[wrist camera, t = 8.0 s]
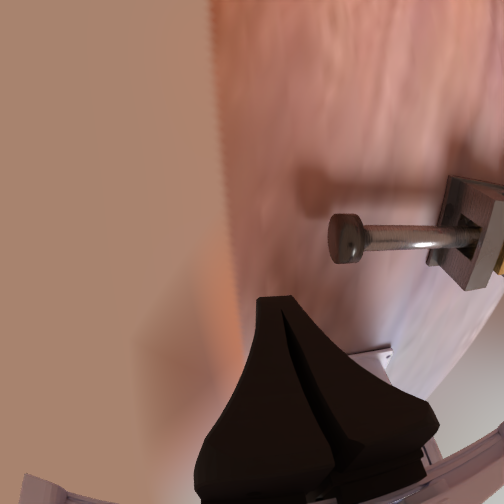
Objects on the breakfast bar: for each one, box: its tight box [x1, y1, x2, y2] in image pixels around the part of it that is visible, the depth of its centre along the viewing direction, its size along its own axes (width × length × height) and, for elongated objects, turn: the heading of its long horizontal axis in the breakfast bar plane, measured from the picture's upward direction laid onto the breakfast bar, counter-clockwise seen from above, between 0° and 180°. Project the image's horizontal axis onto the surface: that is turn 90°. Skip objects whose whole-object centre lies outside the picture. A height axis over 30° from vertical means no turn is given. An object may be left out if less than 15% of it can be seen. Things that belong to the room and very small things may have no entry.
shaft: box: [328, 214, 482, 264], centre depth 18 cm, size 14×3×3 cm, turn 89°
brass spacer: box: [478, 226, 504, 275], centre depth 19 cm, size 3×5×5 cm, turn 179°
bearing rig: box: [426, 175, 504, 291], centre depth 19 cm, size 12×8×5 cm, turn 89°
